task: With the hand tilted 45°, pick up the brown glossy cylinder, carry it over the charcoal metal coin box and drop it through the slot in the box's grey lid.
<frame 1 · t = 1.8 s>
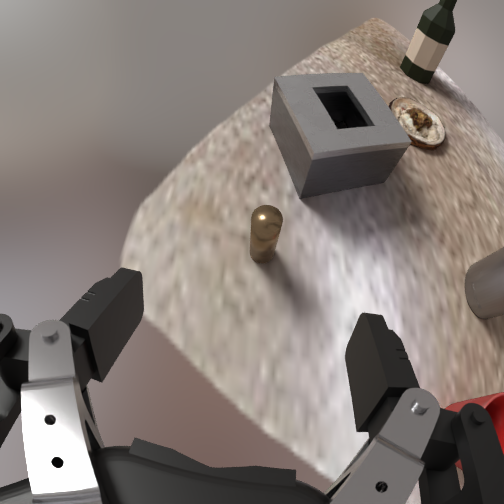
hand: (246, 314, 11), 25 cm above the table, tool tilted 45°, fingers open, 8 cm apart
plate of food: (413, 127, 48), on the table
brown glossy cylinder: (261, 251, 38), on the table
flower pot: (451, 427, 30), on the table
coin box: (326, 151, 43), on the table
wine bottle: (414, 73, 54), on the table
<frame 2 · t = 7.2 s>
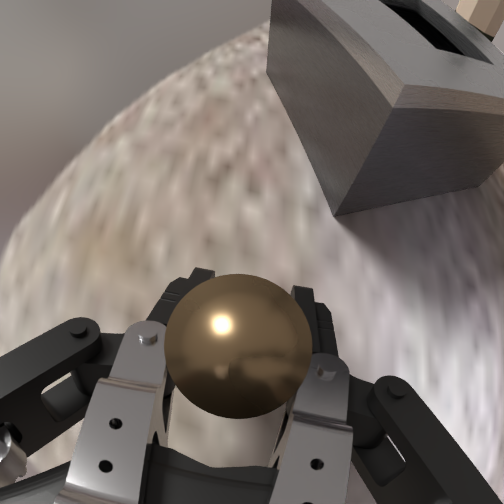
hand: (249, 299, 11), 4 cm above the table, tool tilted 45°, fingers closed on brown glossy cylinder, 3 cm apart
brown glossy cylinder: (241, 353, 14), on the table, touching gripper
coin box: (378, 121, 20), on the table
wine bottle: (466, 39, 31), on the table
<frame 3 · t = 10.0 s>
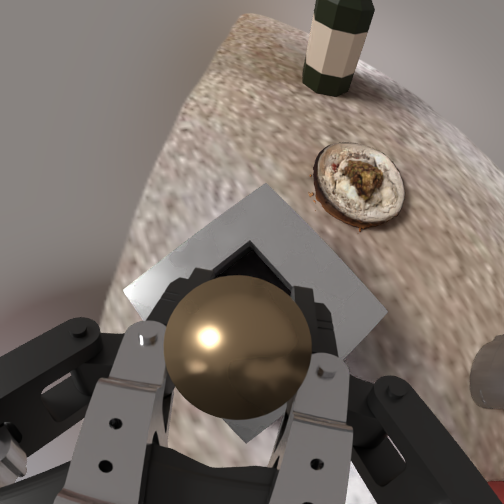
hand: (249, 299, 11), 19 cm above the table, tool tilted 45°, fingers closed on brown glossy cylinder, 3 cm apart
plate of food: (355, 188, 37), on the table
brown glossy cylinder: (241, 354, 14), point 15 cm above the table, touching gripper
flower pot: (478, 502, 21), on the table
coin box: (252, 322, 30), on the table
wine bottle: (324, 82, 44), on the table
when the fingers open (12 cm above the table, at t = 12.9 s): brown glossy cylinder drops 8 cm, resting in coin box.
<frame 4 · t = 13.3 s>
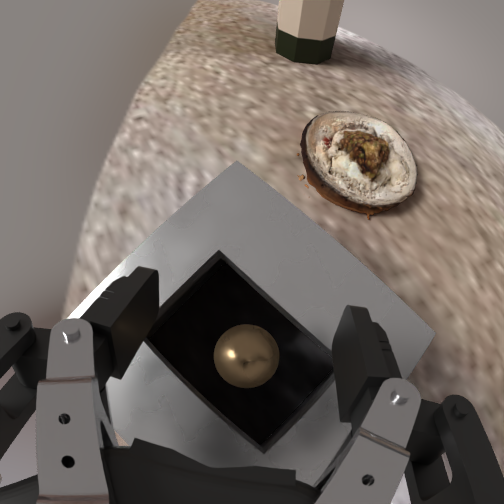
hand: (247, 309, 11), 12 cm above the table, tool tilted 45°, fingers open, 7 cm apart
plate of food: (355, 166, 29), on the table
brown glossy cylinder: (243, 356, 22), resting in coin box
coin box: (241, 355, 22), on the table
wine bottle: (302, 50, 36), on the table
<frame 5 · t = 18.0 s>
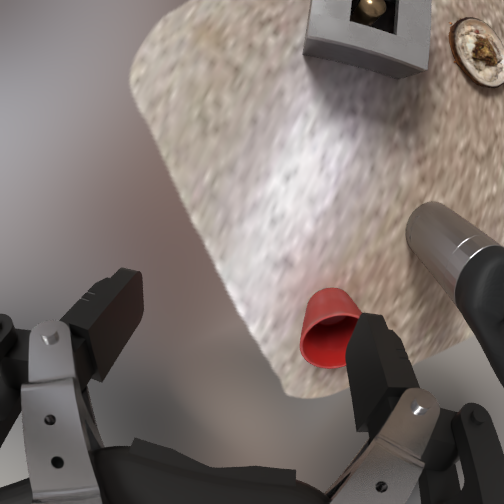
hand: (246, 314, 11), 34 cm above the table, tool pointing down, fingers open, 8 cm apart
plate of food: (475, 52, 29), on the table
brown glossy cylinder: (357, 25, 31), resting in coin box
flower pot: (329, 305, 50), on the table
coin box: (357, 24, 31), on the table
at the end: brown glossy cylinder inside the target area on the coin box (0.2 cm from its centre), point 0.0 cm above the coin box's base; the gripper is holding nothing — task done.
